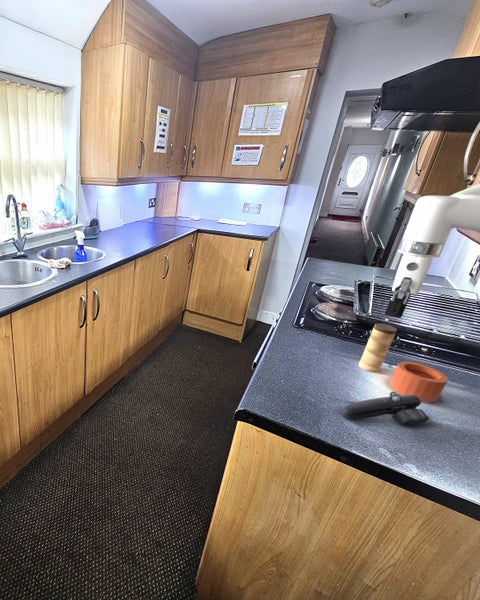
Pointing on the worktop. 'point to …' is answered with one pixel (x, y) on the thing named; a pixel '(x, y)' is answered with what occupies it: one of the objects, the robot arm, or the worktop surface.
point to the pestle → (377, 347)
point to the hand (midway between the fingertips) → (395, 311)
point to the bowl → (418, 381)
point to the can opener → (388, 409)
